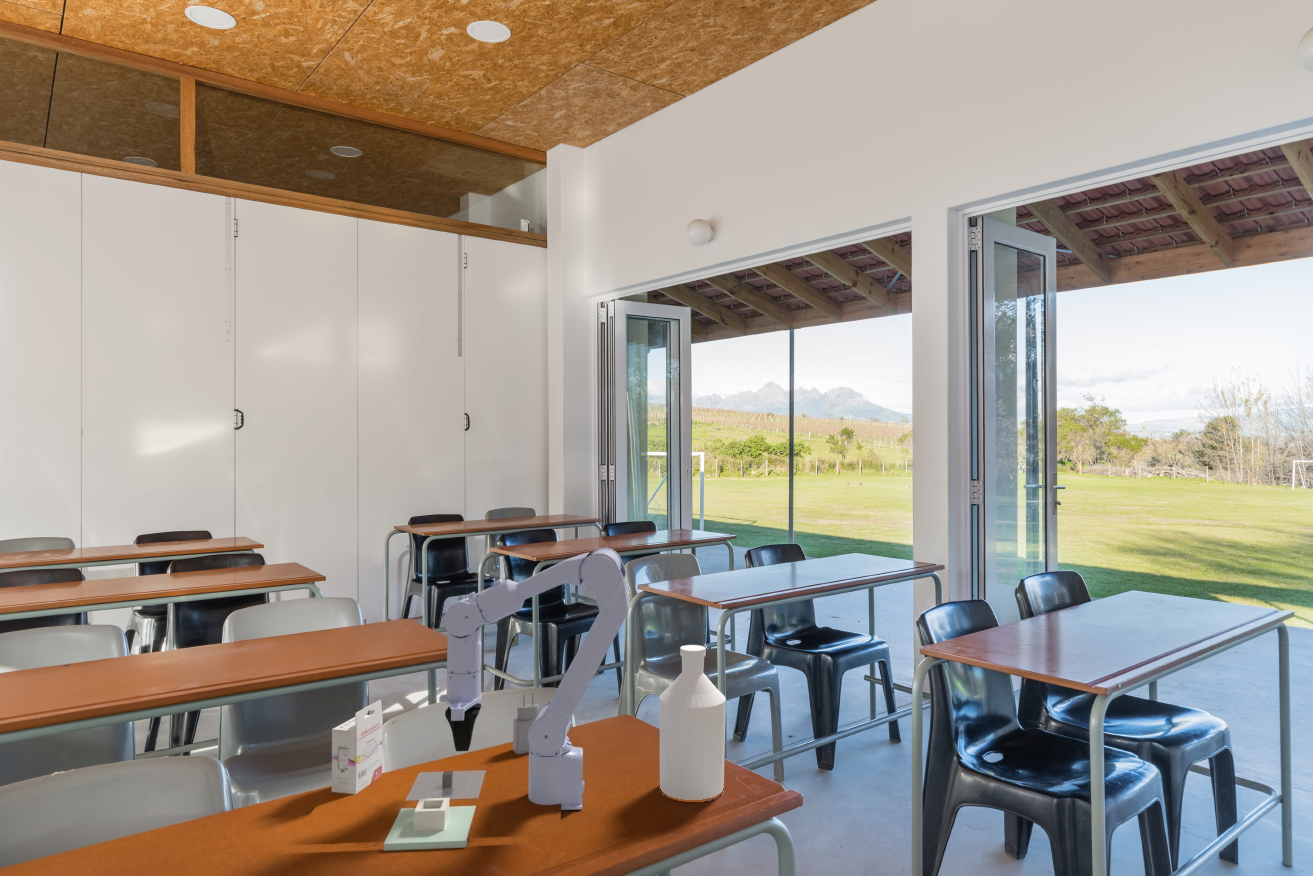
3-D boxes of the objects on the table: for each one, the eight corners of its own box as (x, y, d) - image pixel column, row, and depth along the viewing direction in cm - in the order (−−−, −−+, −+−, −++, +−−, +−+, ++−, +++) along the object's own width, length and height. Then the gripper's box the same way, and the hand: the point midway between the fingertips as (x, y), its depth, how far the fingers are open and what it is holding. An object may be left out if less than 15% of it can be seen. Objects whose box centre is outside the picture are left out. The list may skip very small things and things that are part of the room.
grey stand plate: (485, 775, 144) (486, 759, 144) (478, 804, 132) (478, 786, 132) (419, 777, 142) (419, 761, 142) (405, 806, 130) (405, 788, 130)
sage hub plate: (475, 811, 129) (476, 793, 129) (465, 847, 117) (466, 827, 117) (401, 814, 127) (401, 796, 127) (383, 850, 115) (383, 830, 116)
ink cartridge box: (357, 778, 142) (359, 696, 142) (382, 780, 141) (384, 698, 141) (329, 797, 134) (331, 711, 134) (355, 800, 133) (357, 713, 133)
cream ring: (449, 816, 125) (449, 797, 125) (444, 830, 120) (444, 810, 120) (419, 817, 124) (420, 798, 124) (413, 831, 120) (414, 811, 120)
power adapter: (511, 754, 154) (512, 693, 155) (537, 750, 157) (538, 689, 157) (516, 759, 152) (517, 697, 152) (543, 755, 154) (544, 693, 155)
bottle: (646, 783, 141) (647, 644, 142) (701, 771, 147) (702, 638, 148) (680, 809, 130) (682, 659, 131) (738, 795, 136) (739, 651, 137)
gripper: (447, 659, 141) (445, 735, 140) (432, 682, 126) (431, 766, 126) (486, 659, 142) (485, 734, 141) (477, 681, 127) (475, 765, 127)
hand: (462, 749), depth 134 cm, fingers closed
